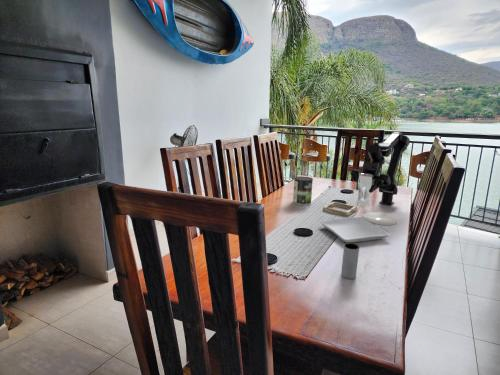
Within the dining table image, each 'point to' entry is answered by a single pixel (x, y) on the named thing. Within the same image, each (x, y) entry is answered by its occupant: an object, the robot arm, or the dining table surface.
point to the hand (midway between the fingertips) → (363, 191)
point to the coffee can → (302, 190)
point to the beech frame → (344, 213)
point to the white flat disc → (379, 218)
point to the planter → (350, 260)
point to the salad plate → (354, 229)
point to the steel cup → (364, 188)
